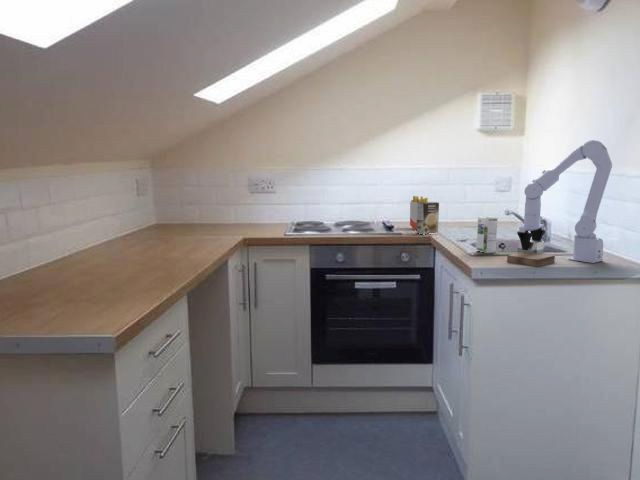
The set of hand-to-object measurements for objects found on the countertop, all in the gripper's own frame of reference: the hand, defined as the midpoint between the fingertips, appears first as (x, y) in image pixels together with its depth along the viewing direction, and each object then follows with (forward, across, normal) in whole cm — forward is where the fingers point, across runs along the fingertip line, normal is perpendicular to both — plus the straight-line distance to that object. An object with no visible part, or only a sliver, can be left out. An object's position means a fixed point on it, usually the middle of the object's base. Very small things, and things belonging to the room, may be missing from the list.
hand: (530, 248), depth 210 cm
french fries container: (+3, -26, -78) cm, 82 cm away
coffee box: (+3, -16, -65) cm, 67 cm away
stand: (+3, +12, +7) cm, 14 cm away
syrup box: (+3, +6, -16) cm, 17 cm away
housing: (+3, 0, 0) cm, 3 cm away
